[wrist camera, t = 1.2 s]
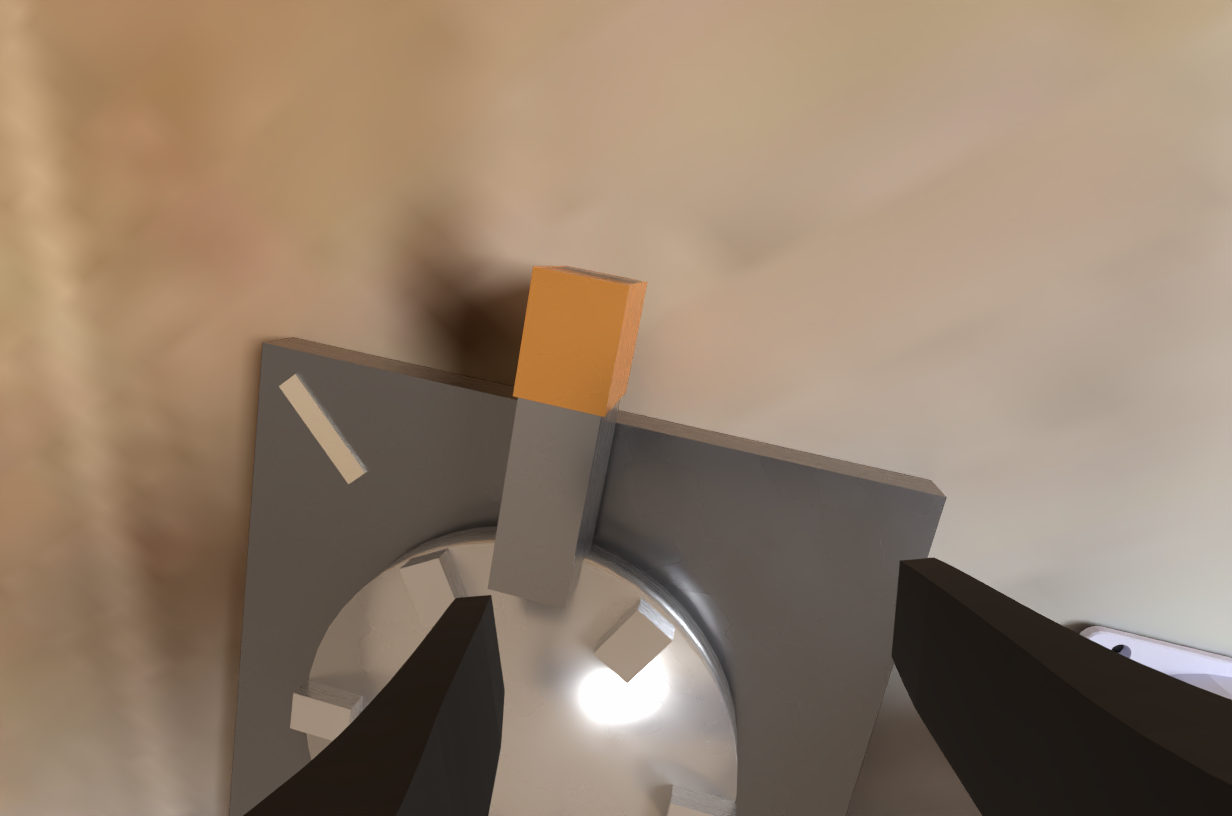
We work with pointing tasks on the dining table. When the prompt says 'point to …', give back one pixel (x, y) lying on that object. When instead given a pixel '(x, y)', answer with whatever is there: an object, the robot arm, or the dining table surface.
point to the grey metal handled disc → (555, 600)
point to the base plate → (626, 525)
